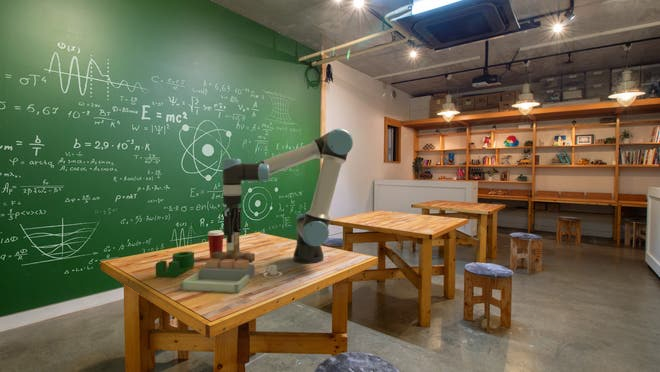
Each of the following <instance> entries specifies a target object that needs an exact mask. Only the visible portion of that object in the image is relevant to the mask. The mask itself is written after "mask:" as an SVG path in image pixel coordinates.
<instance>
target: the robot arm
mask: <svg viewBox="0 0 660 372" xmlns="http://www.w3.org/2000/svg"><path fill="white" fill-rule="evenodd" d="M353 145H354V139H353V137H352V135H351V132H349V131H347V130H346V129H343V128H335V129H332V130H330V131H329V132H326V133H325V134H324V135H322V136H320V137H318V138H316V139H313V140H312V141H311V142H310V143H309V144H305V145H303V146H300V147H298V148H295V149H292V150H289V151H286V152H283V153H281V154H278V155H275V156H272V157H270V158H267V159H264V160H262V161H258V162H256V163H243V162H242V161H241V160H242V159H240V158H224V159H223V161H222V194H223V196H222V197H223V198H222V202H223V203H222V204H224V205H226V208H225V210H223V211H222V215H223V233H224V234H223V236H226V235H227V245H226V251H227V250H234V235H233V232H239V233H241V230H242V207H239V205H241V204H242V182H247V181H248V182H265V181H269V180H270V176H271V175H273V174H276V173H279V172H281V171H285V170H288V169H290V168H292V167H296V166H298V165H301V164H304V163H306V162H309V161H311V160H314V159H318V160H320V159H322V160H323V161H322V164H321V168H320V171H319V175H318V180H317V182H316V187H315V189H314V193H313V198H312V201H311V205H310V208H309V210H308V211H306V212H305V213H299V214H297V215H296V220H295V221H296V245H295V249H294V251H293V258H292V259H293V261H294V262H296V263H300V264H315V263H319V262H322V261H324V257H325V256H324V252H323V247H322V245H324V244H326V242H327V240H328V239H329V235H330V230H329V226H330V222H331V218H330V216H329V212H330V209H331V204H332V200H333V197H334V194H335V190H336V185H337V182H338V178H339V175H340V172H341V167H342V164H344V163H345V162H347V157H348V154H349V153H350V151H351V150H352V148H353Z"/></svg>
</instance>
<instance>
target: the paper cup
mask: <svg viewBox="0 0 660 372" xmlns="http://www.w3.org/2000/svg"><path fill="white" fill-rule="evenodd" d="M206 235H207V236H208V237H207V238H208V250H209V260H210V259H212V256H211V254H213V253H215V252H223V246H224V245H223V243H224V230H221V229H220V230H218V229H214V230H210V231H208V232H207V234H206Z"/></svg>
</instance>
